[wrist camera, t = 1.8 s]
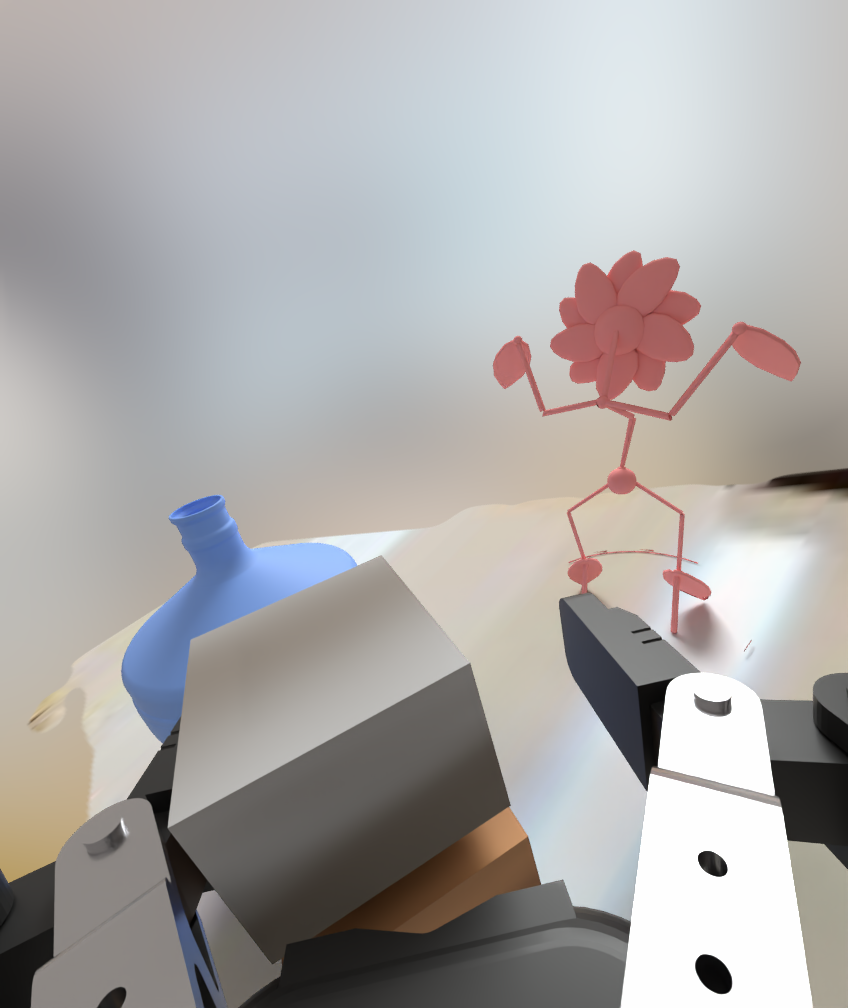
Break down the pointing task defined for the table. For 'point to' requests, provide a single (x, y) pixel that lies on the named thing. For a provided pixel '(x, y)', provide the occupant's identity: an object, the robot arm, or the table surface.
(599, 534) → the table surface
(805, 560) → the table surface
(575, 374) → the figurine
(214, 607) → the water jug
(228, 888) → the cord stand
